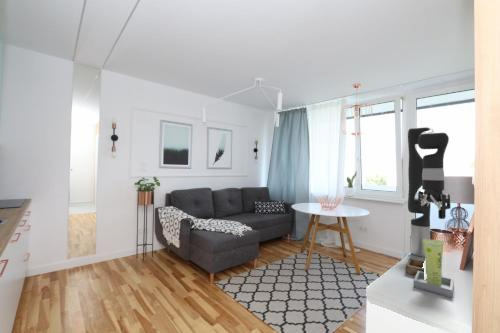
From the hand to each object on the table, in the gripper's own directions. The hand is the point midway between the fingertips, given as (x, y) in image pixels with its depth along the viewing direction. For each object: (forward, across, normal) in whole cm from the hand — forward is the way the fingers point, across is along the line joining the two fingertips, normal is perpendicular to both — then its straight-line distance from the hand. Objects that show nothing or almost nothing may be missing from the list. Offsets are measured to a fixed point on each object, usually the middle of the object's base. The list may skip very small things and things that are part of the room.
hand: (433, 216), depth 102 cm
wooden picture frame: (+30, +13, -5) cm, 33 cm away
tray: (+30, 0, 0) cm, 30 cm away
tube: (+30, 0, 0) cm, 30 cm away
